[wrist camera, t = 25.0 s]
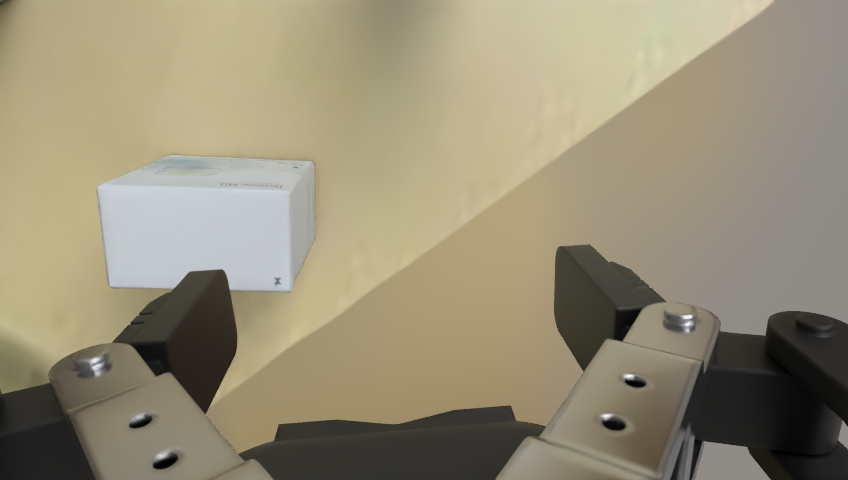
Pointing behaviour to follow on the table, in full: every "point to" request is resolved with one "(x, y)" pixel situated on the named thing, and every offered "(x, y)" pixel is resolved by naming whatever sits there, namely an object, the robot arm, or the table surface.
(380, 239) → the table surface
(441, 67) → the table surface
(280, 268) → the cosmetics box
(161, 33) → the table surface
